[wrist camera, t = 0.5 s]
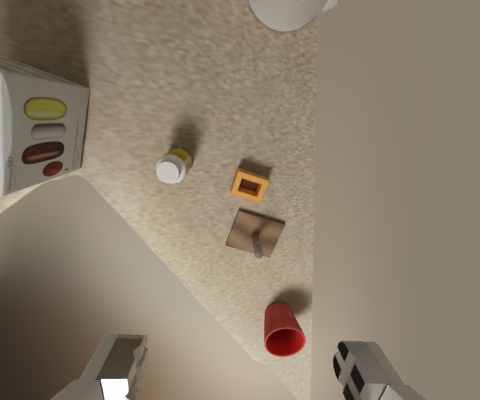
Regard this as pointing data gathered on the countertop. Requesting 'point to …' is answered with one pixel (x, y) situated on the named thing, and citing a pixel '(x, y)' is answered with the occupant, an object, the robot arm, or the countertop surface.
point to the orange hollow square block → (247, 193)
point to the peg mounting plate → (254, 234)
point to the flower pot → (282, 331)
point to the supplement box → (38, 125)
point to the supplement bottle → (173, 166)
